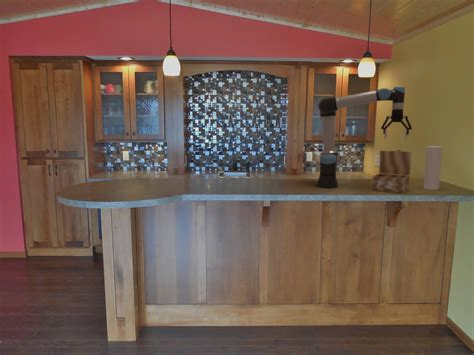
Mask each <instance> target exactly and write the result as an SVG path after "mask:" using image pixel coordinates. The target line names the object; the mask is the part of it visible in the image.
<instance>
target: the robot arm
mask: <svg viewBox="0 0 474 355" xmlns="http://www.w3.org/2000/svg"><path fill="white" fill-rule="evenodd" d="M405 96H406V87H405V86H401V85H400V86H394V87H393V89H389V88H387V87H384V88H380V89H374V90H370V91H365V92H359V93H355V94H351V95H346V96H340V97H338V96H334V97H333V96H332V97H325V98H322V99H320V101H319V103H318V111H319V117H320V119H322V142H323V144H322V145H323V151H322V152H321V155H320V158H319V176H318V180H317V182H316V186H317V187H318V186H319V188H323V187H330V188H329V189H333V188H332V187H335V188H338V187H339V182H338V178H337V167H338V165H339V158H338V151H337V150H336V143H335V142H336V141H335V140H336V139H335V138H336V135H335V134H336V132H335V118H336V117H337V111H339V110H340V109H344V108H348V107H354V106H359V105H364V104H370V103H375V102H381V101H383V102H386V101H388V102H390V101H392V104H391V109H392V110H391V115H390V116H389V115H386V119H385V120H384V121H383V123H382V125H381V127H380V129H381V130H383V132H382V133H383V135H384V139H385V140H386V139H387V136H388V135H387V134H388V130H387V129H388V128H389V127H390V126H391V124H393V123H401V125H402V126H403V127H404V128H405V132H404V140H405V141H406V140H407V139H408V138H407V137H408V135H409V133H410V130H412V129H413V127H412V125H411V122H410V121H409V116H408V115H405V116H404V108H405V107H404V106H405ZM389 120H390V121H389ZM404 120H405V121H406V123H405V122H404ZM388 121H389V122H388Z"/></svg>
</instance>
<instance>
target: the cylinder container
mask: <svg viewBox="0 0 474 355" xmlns="http://www.w3.org/2000/svg"><path fill="white" fill-rule="evenodd" d="M425 150H426V151H425V161H424V162H425V165H424V177H423V178H424V179H423V189H425V190H429V191H438V189H439V190H440V180H441V167H442V166H441V165H442V157H443V156H442V153H443V146H438V145H429V146H426V149H425Z"/></svg>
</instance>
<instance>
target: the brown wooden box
mask: <svg viewBox="0 0 474 355" xmlns="http://www.w3.org/2000/svg"><path fill="white" fill-rule="evenodd" d="M371 188H372V191H373V192H383V193H393V194H406V193H407V192H408V191H409V189H410V175H400V174H386V173H377V174H375V175H373V176H372V187H371Z"/></svg>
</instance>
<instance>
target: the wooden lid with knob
mask: <svg viewBox="0 0 474 355" xmlns="http://www.w3.org/2000/svg"><path fill="white" fill-rule="evenodd" d="M411 158H412V152H411V151H402V150H398V149H397V150H379V170H378V171H379V173H380V174H394V175H408V176H410V175H411ZM379 173H378V174H379Z"/></svg>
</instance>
